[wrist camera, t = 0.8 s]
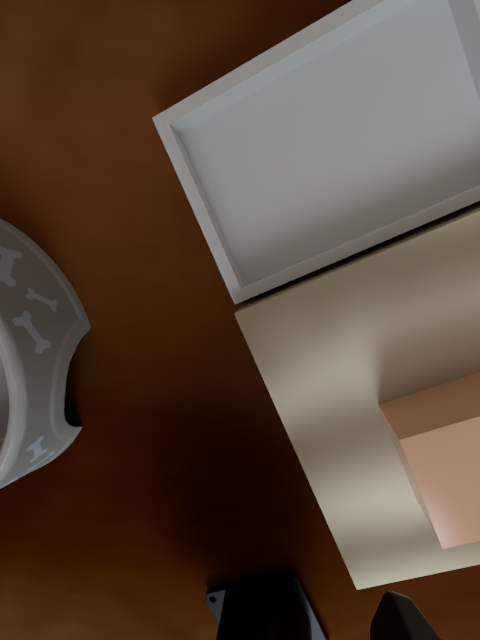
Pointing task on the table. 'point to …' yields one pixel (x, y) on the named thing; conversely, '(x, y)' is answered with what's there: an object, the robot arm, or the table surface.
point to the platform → (372, 383)
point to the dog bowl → (34, 354)
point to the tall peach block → (442, 455)
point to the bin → (333, 139)
